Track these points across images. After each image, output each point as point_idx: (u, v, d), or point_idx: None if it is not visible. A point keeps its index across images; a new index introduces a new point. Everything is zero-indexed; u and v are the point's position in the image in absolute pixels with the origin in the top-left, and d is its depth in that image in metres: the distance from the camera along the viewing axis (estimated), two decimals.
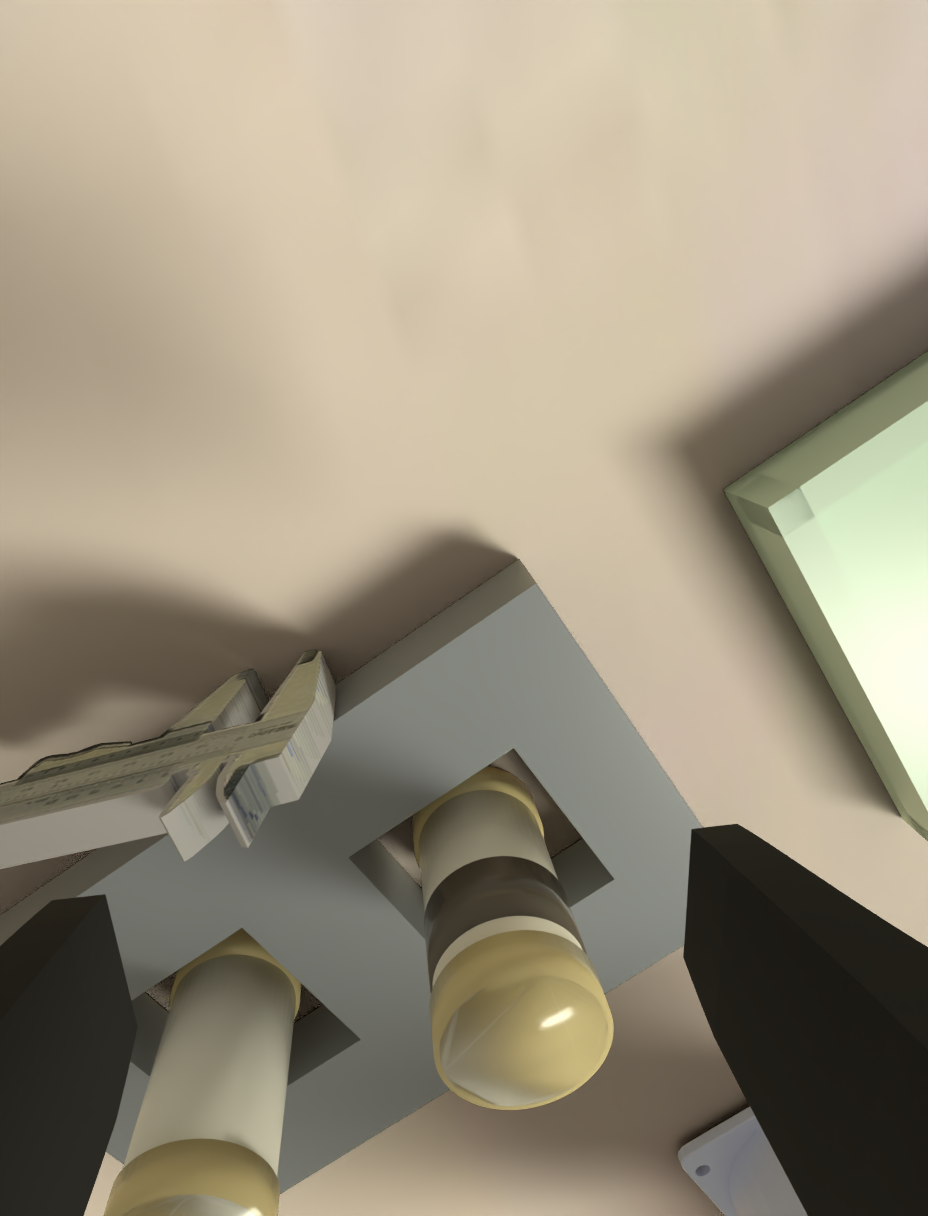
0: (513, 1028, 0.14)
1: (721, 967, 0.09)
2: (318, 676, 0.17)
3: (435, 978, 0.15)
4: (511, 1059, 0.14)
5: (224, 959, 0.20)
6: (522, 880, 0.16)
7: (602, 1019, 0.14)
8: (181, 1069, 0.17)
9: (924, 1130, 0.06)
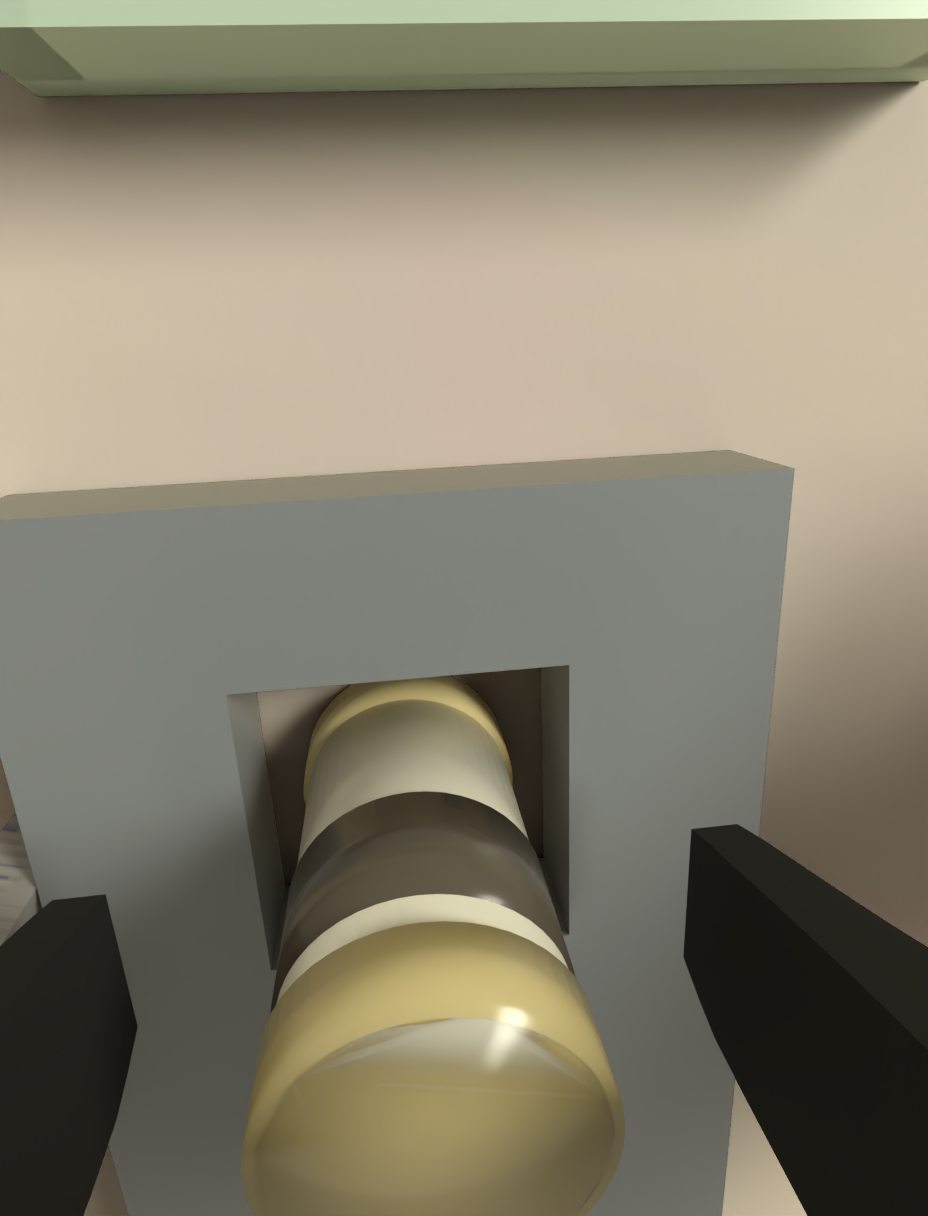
0: (387, 1162, 0.07)
1: (721, 967, 0.09)
2: None
3: None
4: (459, 1187, 0.07)
5: None
6: (321, 870, 0.09)
7: (490, 1028, 0.06)
8: None
9: (924, 1130, 0.06)
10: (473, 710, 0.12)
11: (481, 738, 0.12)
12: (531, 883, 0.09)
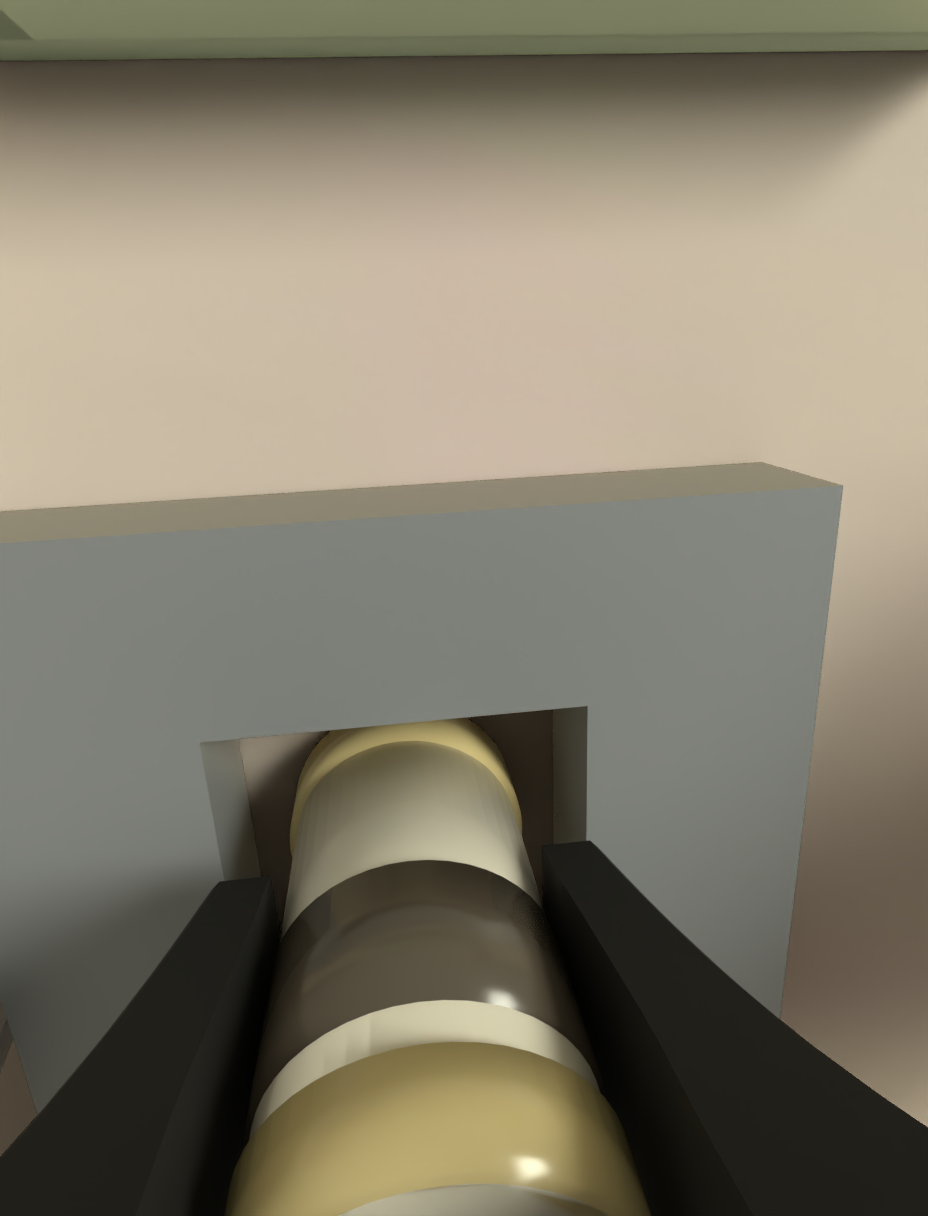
0: None
1: None
2: None
3: None
4: None
5: None
6: (305, 958, 0.07)
7: (510, 1193, 0.05)
8: None
9: (682, 1167, 0.06)
10: (478, 752, 0.11)
11: (487, 785, 0.10)
12: (551, 974, 0.07)
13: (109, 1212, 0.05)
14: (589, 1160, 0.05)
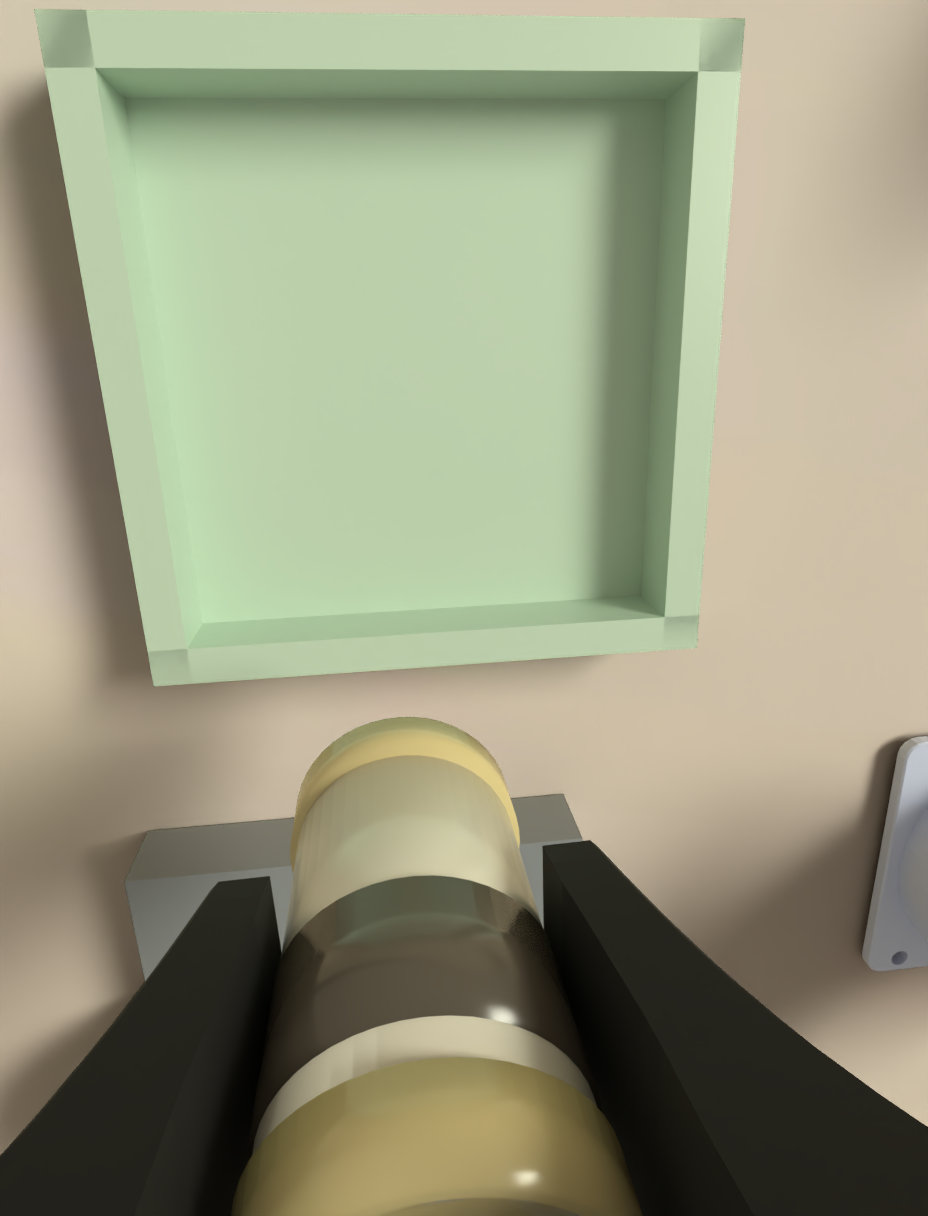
0: None
1: None
2: None
3: None
4: None
5: None
6: (311, 970, 0.08)
7: (514, 1207, 0.05)
8: None
9: (682, 1167, 0.06)
10: (479, 768, 0.11)
11: (488, 801, 0.10)
12: (551, 991, 0.07)
13: (107, 1214, 0.05)
14: (591, 1176, 0.06)
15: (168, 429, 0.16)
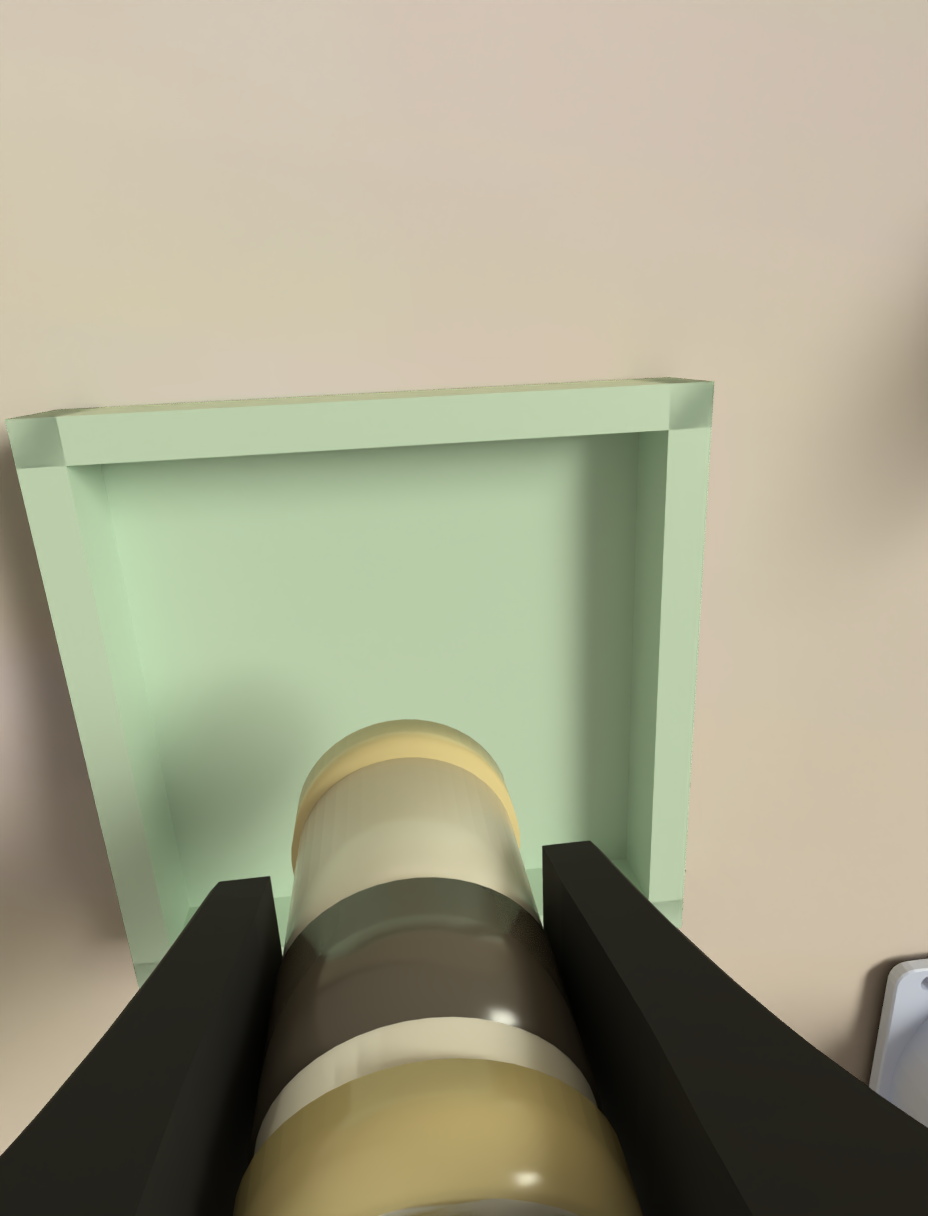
0: None
1: None
2: None
3: None
4: None
5: None
6: (314, 970, 0.08)
7: (519, 1209, 0.05)
8: None
9: (682, 1168, 0.06)
10: (481, 771, 0.11)
11: (490, 804, 0.10)
12: (554, 994, 0.08)
13: (108, 1212, 0.05)
14: (594, 1179, 0.06)
15: (150, 749, 0.16)
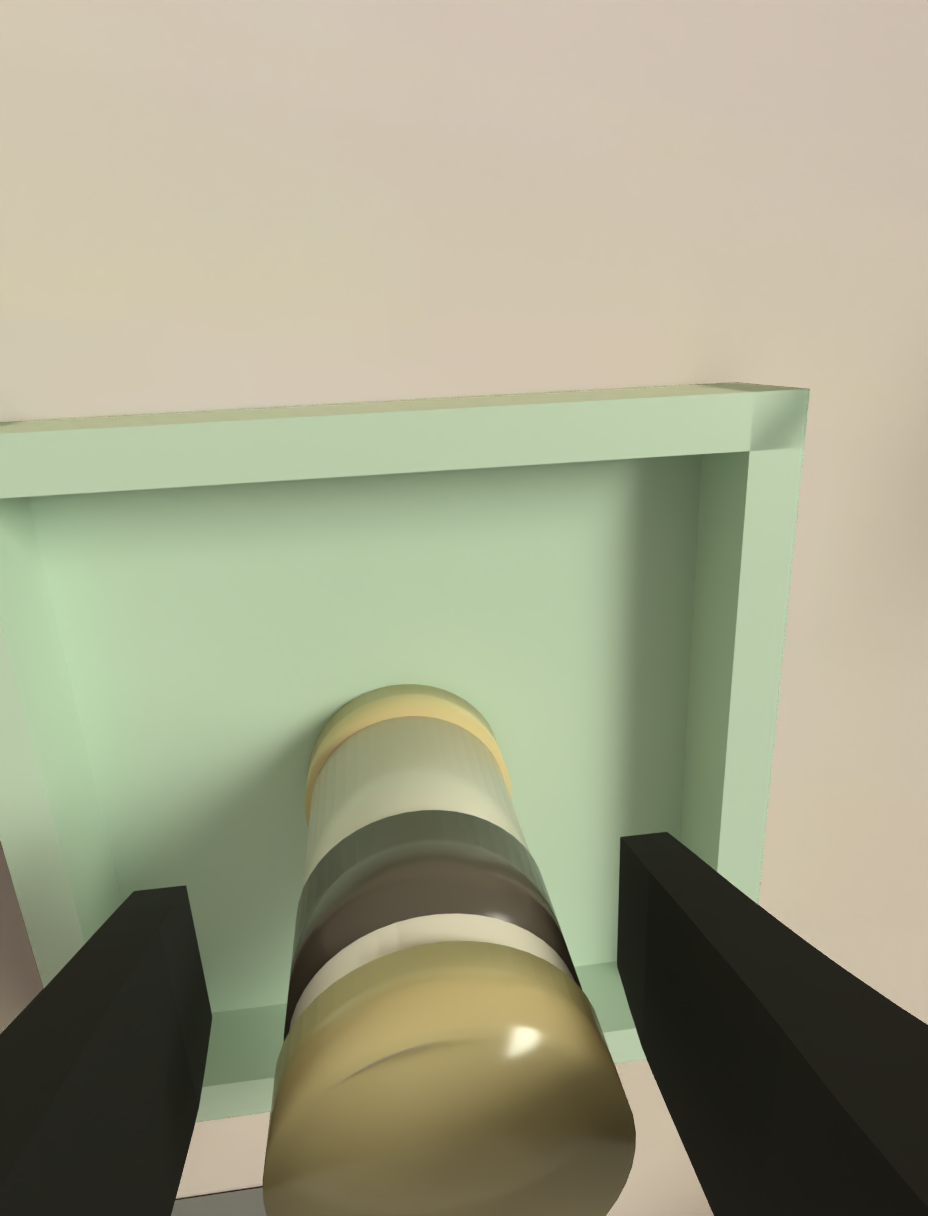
0: (406, 1178, 0.07)
1: (646, 977, 0.09)
2: None
3: None
4: (474, 1202, 0.07)
5: None
6: (336, 886, 0.09)
7: (514, 1047, 0.07)
8: None
9: (809, 1148, 0.06)
10: (476, 728, 0.12)
11: (484, 756, 0.12)
12: (541, 903, 0.09)
13: None
14: (575, 1029, 0.07)
15: (95, 842, 0.13)
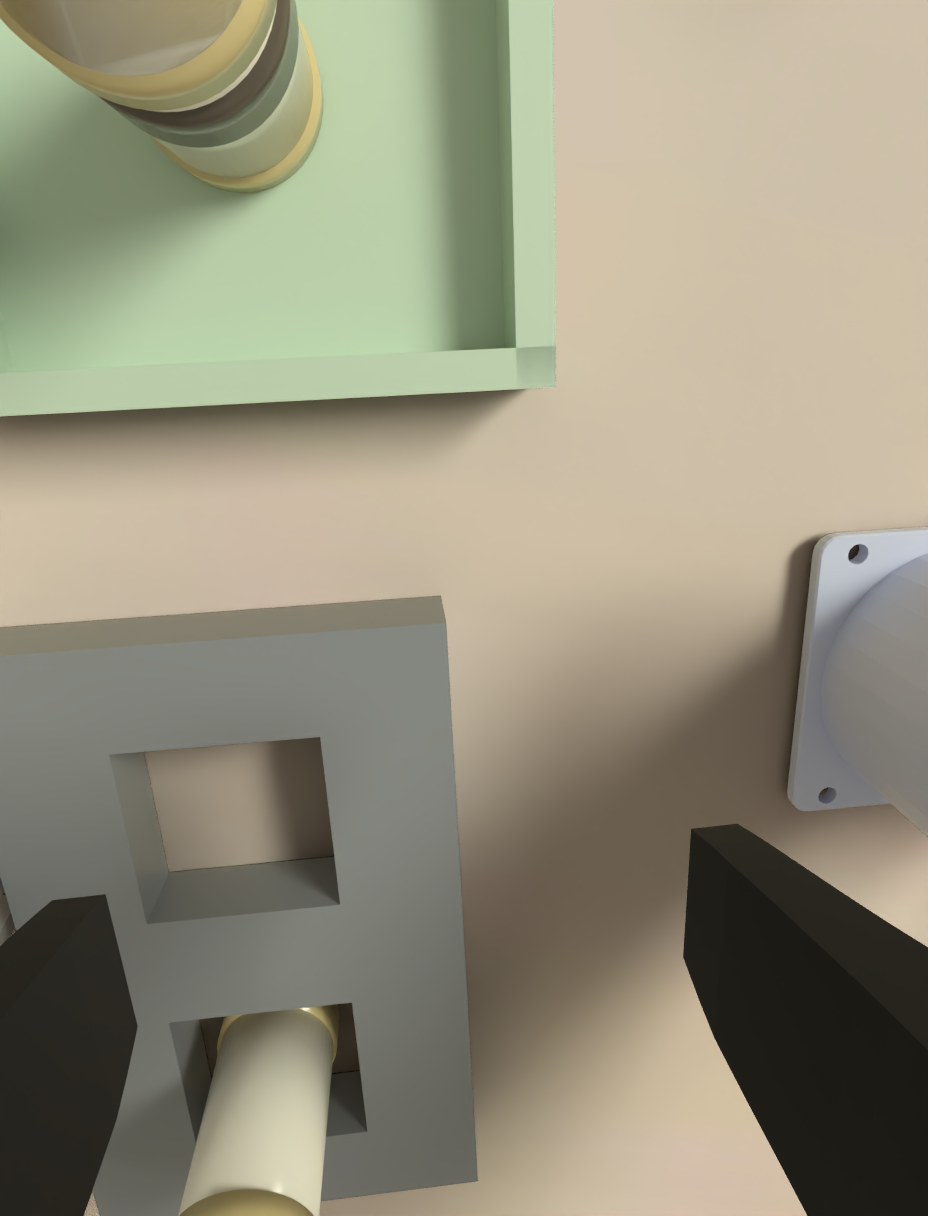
0: None
1: (721, 967, 0.09)
2: None
3: None
4: None
5: (222, 1037, 0.21)
6: None
7: None
8: None
9: (924, 1130, 0.06)
10: None
11: None
12: None
13: None
14: None
15: None
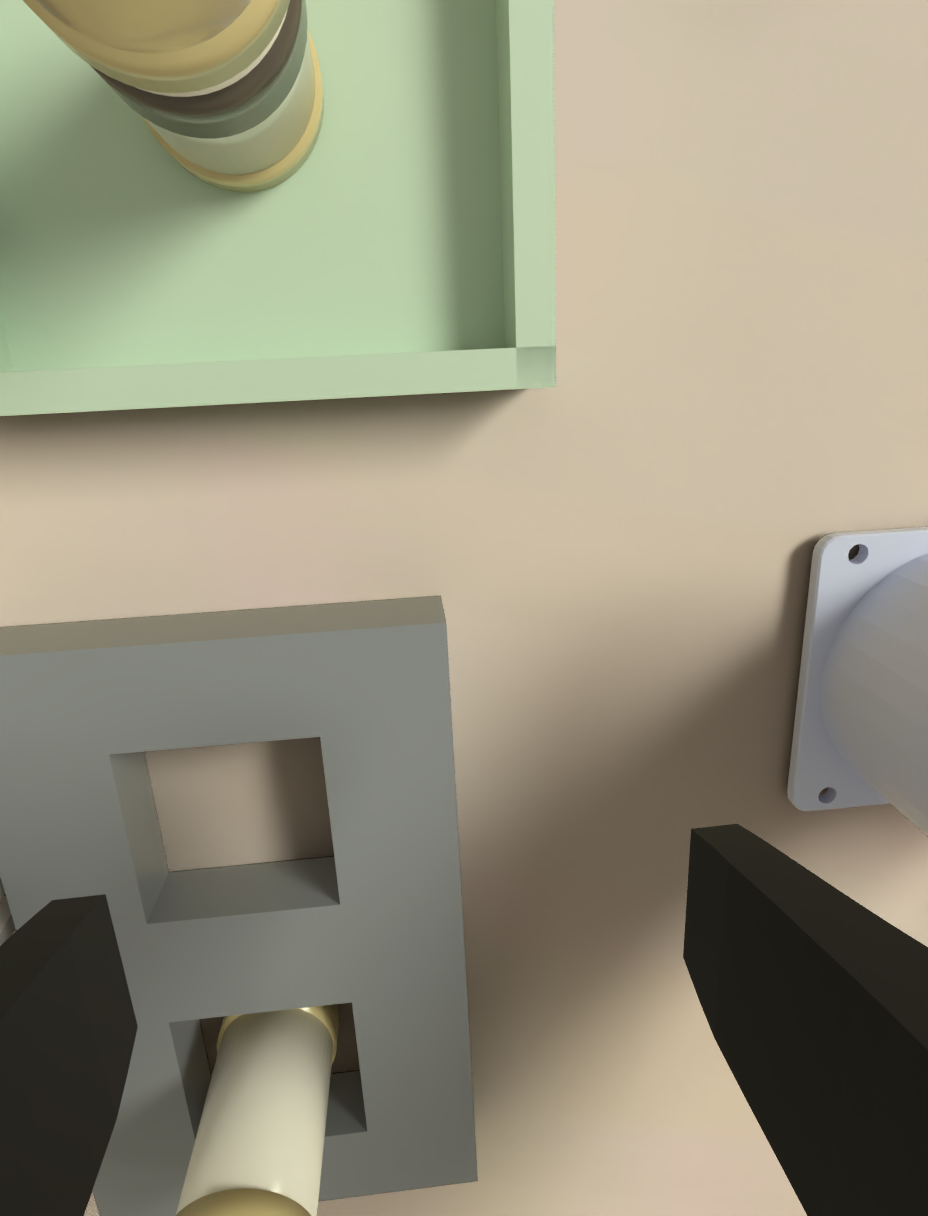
0: None
1: (721, 967, 0.09)
2: None
3: None
4: None
5: (222, 1037, 0.21)
6: None
7: None
8: (191, 1157, 0.19)
9: (924, 1130, 0.06)
10: None
11: None
12: None
13: None
14: None
15: None
